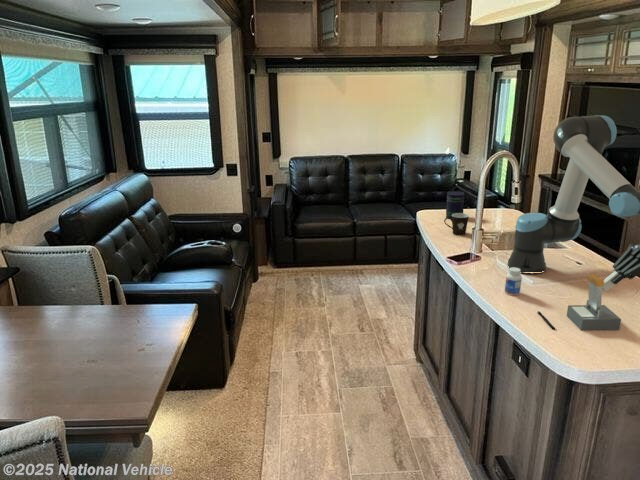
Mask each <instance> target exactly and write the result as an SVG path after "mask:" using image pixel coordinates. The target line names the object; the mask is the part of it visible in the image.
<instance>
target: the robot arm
mask: <svg viewBox="0 0 640 480" xmlns="http://www.w3.org/2000/svg"><path fill="white" fill-rule="evenodd" d="M617 129H618V128H617V126H616V123H615V122H614V120H613V119H612V118H611V117H610V116H607V115H598V114H595V115H586V116H585V115H582V116H571V117H567V118H564V119H563V120H562V121H560V122H559V123H558V124H557V125H556V127H555V128H554V132H553V143H554V146H555V148H556V149H557V151H558V152H559V153H560V154H561V155H562V156H564V157H565V158H569V161H568V163H567V167H566V170H565V173H564V176H563V178H562V183H561V185H560V189H559V191H558V194H557V198H556V200H555V204H554V205H553V206H551V207H549V208H548V213H547V214H545V213H541V212H527V213H523V214H521V215H519V216H518V217H517V219H516V223H515V227H514V228H515V233H514V242H513V250H512V251H511V253H510V256H509V258H508V260H507V265H508V266H509V268H512V267H514V268H519V269H520V270H521V272H542V271H544V270H545V271H546V269H547V263H546V261H545V260H546V259H545V255H544V249H545V245H546V244H553V243H560V242H561V243H566V242H569V241H573V240H575V239H577V237H578V236H579V235H580V234H581V231H582V220H581V218H580V213H579V212H578V208H579V206H580V203H581V201H582V198H583V195H584V193H585V190H586V187H587V183H588V181H589V179H590V181H592V183H593V184H595V186H596V187H597V188H598V189H599V190H600V191H601V192H602V194H604V195H605V196H606V198H608V199H609V201H608V207H609V208H610V209H609V210H610V212H611V214H613V215H614V216H617V217H633V216H639V215H640V190H638V189H637V188H636V187H635V186H634V185H632V184H631V182H629V181H628V180H627V179H626V178H625V177H624V176H623V175H622V174H621V173H620V172H619V171H618V170H617V169H616V168H615V167H614V166H613V165H612V164H611V163H610V162H609V161H608V160H607V159H606V158H605V157H604V156H603V155H602V154H603V153H604V151H605V150H604V149H605V148H606V147H608V146H610V145H612V144H613V143H614V142H615V140H616V138H617V133H618V130H617ZM508 266H507V267H508ZM509 268H508V269H509ZM612 268H613V271H612V272H611V273H609V274H608V275H607V276H606V278H604V279H603V280H604V285H603V286H602V291H604V292H608V291H609V290H610V289H611V288H612V287H614V286H616V285H617V284H618V283H621V281H622V280H624V279H628V280H632V279H634V278H636V277H637V276H639V275H640V243H638V244H637V245H634V244H633V243H631V244H629V245H628V247H627V249H626V251H625V252H623V254H622V255H621V256H620V257H619V258H618V259H617V260H616V262H614V264H613V265H612Z"/></svg>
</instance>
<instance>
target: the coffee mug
mask: <svg viewBox="0 0 640 480" xmlns="http://www.w3.org/2000/svg"><path fill="white" fill-rule="evenodd" d="M469 217H470V215H469V214H466V213H464V212H463V213H456V214H452V219H451V218H446V217H445V219H444V224H445V225H446V226H447V227H449V228H450V229H452V234H453V235H454V236H465V235H466V233H467V228H468V227H467V226H468V224H469V223H468V221H469ZM446 220H450V221H451V223H452V226H450V225H449V224H448V223H446Z"/></svg>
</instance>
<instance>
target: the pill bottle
mask: <svg viewBox="0 0 640 480" xmlns="http://www.w3.org/2000/svg"><path fill="white" fill-rule="evenodd" d="M520 272H521V270H520V269H519V268H514V267H512V268H508V272H507V274H506V276H505V285H504V293H505V294H507V295H509V296H519V295H520V293H521V286H522V279H523V278H522V274H521V273H520Z"/></svg>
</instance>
